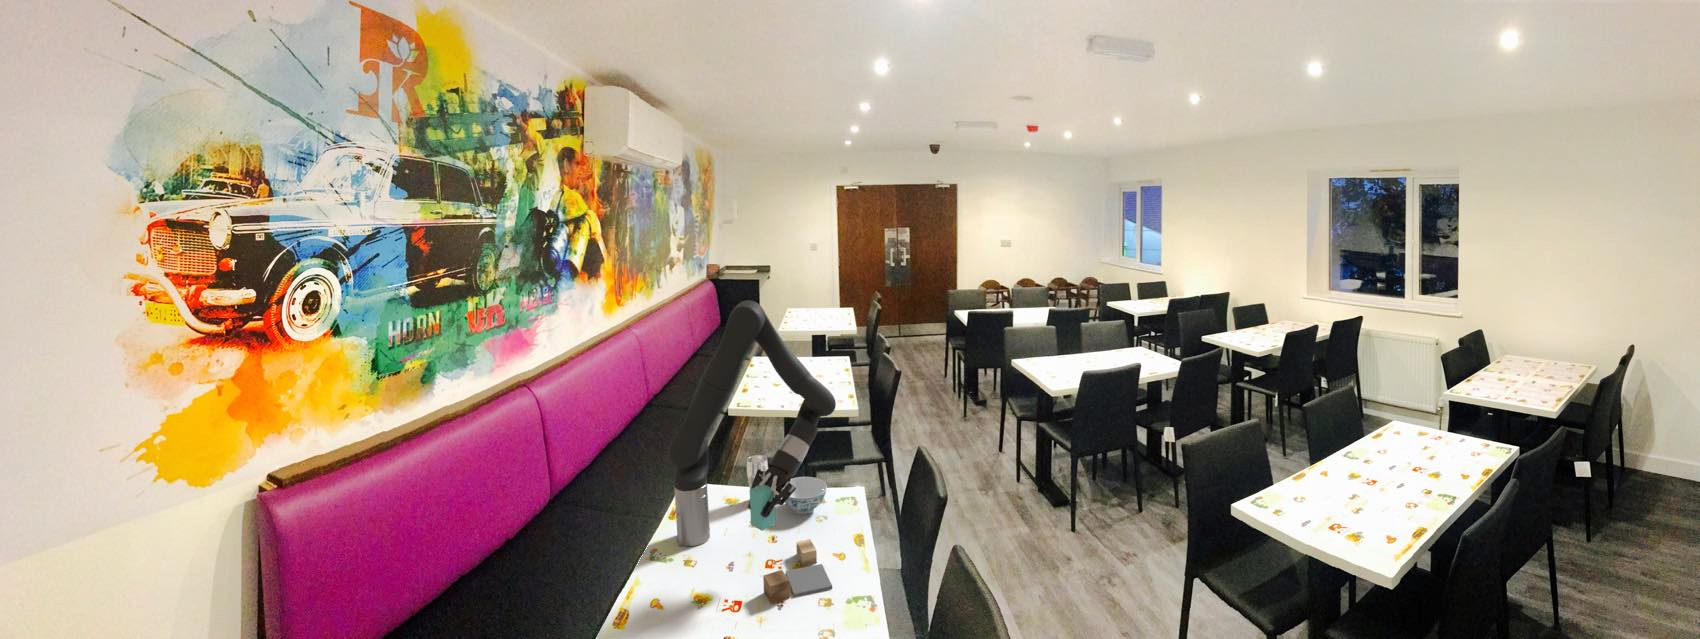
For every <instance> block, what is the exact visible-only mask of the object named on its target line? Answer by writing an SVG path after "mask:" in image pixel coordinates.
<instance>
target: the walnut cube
mask: <svg viewBox="0 0 1700 639" xmlns="http://www.w3.org/2000/svg"><path fill="white" fill-rule="evenodd" d="M762 576H763V578H762V579H763V594H764V595H765V597H766V598H767V600H768V603H770V605H773V604H776V603H780V602H782V601H785V600H788V599H791V597H790V596H791V590H790V589H791V587H790V584H789V579H788V578H787V576H786V572H784V571H783V569H780V570H777V571H773V572H769V573H767V574H763V575H762Z"/></svg>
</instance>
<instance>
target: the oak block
mask: <svg viewBox="0 0 1700 639" xmlns="http://www.w3.org/2000/svg"><path fill="white" fill-rule="evenodd" d="M795 544H796V556H797V558H798V560H799V562H800V564H801V565H802V567H807V566H809V565H810V566H811V565H816V564H817V563H818V561H817V560H818V559H817V555H818V554H817V549H816V546H815V545H814V544H813V541H812V540H811V538H810V539H804V540H798V541H796V543H795Z"/></svg>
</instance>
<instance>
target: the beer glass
mask: <svg viewBox="0 0 1700 639" xmlns="http://www.w3.org/2000/svg"><path fill="white" fill-rule="evenodd" d="M768 468H769V464H768V457H767V456H765V455H762V454H756V455H755V454H754V455H752V456H749V457H747V460H746V475H747V482H748V485H749V490H750V489H751V487H752V484H753V481H754V478H755V475H756V472H757V470H758V469H760V470H761V471H766V470H767V469H768ZM756 487H757V486H756Z"/></svg>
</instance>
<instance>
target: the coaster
mask: <svg viewBox="0 0 1700 639" xmlns="http://www.w3.org/2000/svg"><path fill="white" fill-rule="evenodd" d="M785 575H786V576H787V578H788V579H789V586H790V589H791V590H790V591H791V592H792V595H793V597H795V598H796V597H800V596H804V595H808V594H813V593H819V592H823V591H827V590H832V589H833V584H832V582H831V580H830V578H829V576H828V574H827V572H826V570H825V568H824V566H823V564H822V563H819V564H813V565H810V566H809V565H808V566H803V567H801V568H794V569H791V570H790V569H789V570H785Z"/></svg>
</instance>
